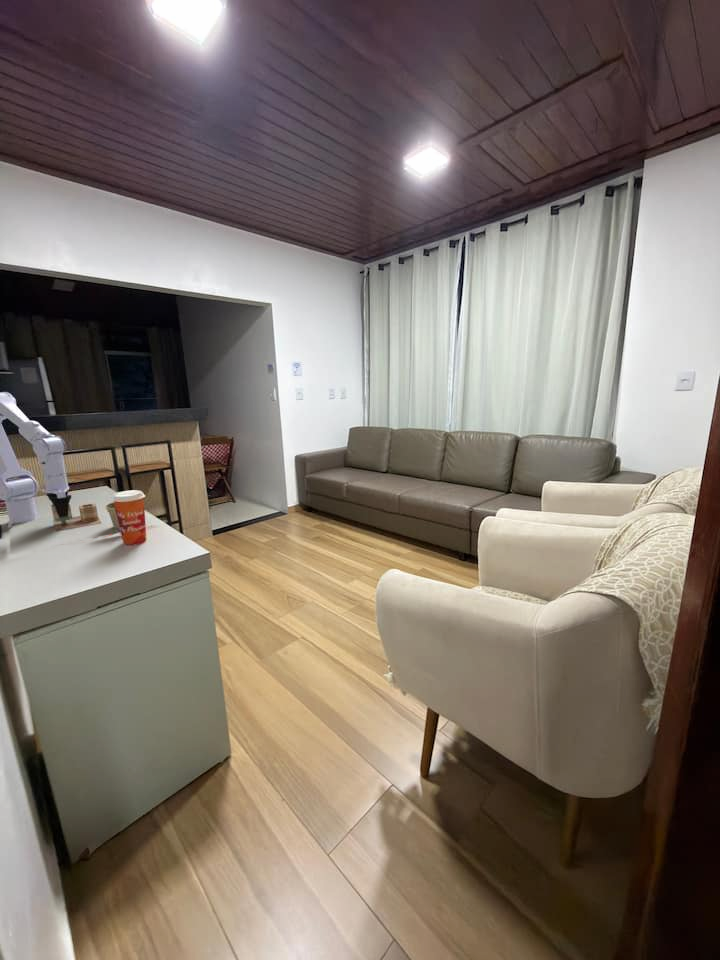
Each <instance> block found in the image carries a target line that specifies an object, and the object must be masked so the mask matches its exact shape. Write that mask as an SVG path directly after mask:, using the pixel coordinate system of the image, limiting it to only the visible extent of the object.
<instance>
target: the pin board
mask: <svg viewBox="0 0 720 960" xmlns="http://www.w3.org/2000/svg"><path fill="white" fill-rule="evenodd" d="M72 518H73V519H71V520H65V521H60V522H55V520H54V519H53V525H54V530H55V532H56V533H57V532H62V531H67V530H68V531H69V530H73V529H74V530H75V529H78V528H83V527H89V526H95V525H101V524H102V521H101V520H100V519H99V518H100V517H98V520H95V521H89V522H82V520H81V516H80V515H79V516H72Z"/></svg>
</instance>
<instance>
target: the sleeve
mask: <svg viewBox="0 0 720 960" xmlns="http://www.w3.org/2000/svg"><path fill="white" fill-rule="evenodd" d="M50 507H51V512H52V516H53V518H52V519H53V521H54V520H55V522H60V521H65V520H71V519H73V518H72V517H73V513H72V509H71V508H72V507H71V504H70V503H69V507H68V516H66V517H59V515H58V513H57V511H56V508H55V506H54V504H50Z"/></svg>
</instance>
